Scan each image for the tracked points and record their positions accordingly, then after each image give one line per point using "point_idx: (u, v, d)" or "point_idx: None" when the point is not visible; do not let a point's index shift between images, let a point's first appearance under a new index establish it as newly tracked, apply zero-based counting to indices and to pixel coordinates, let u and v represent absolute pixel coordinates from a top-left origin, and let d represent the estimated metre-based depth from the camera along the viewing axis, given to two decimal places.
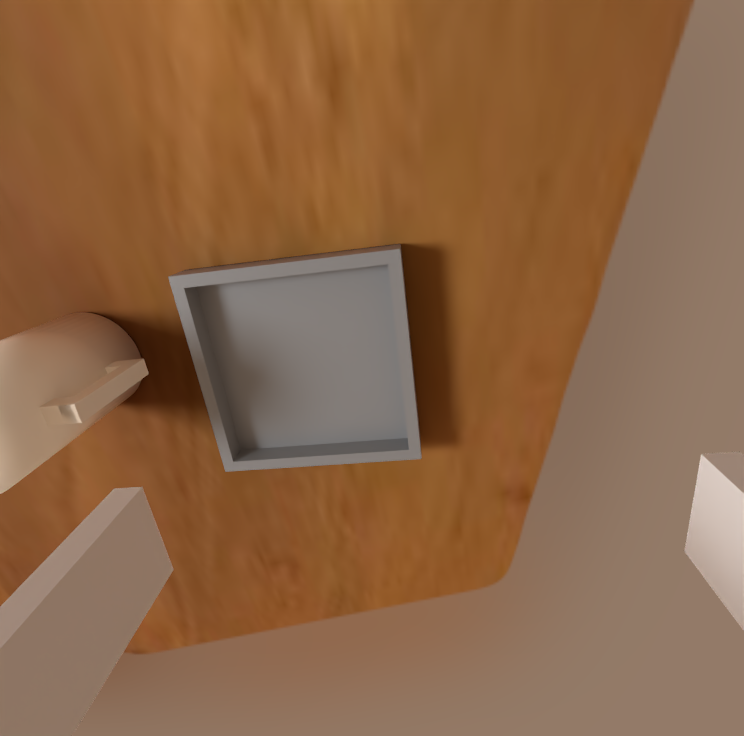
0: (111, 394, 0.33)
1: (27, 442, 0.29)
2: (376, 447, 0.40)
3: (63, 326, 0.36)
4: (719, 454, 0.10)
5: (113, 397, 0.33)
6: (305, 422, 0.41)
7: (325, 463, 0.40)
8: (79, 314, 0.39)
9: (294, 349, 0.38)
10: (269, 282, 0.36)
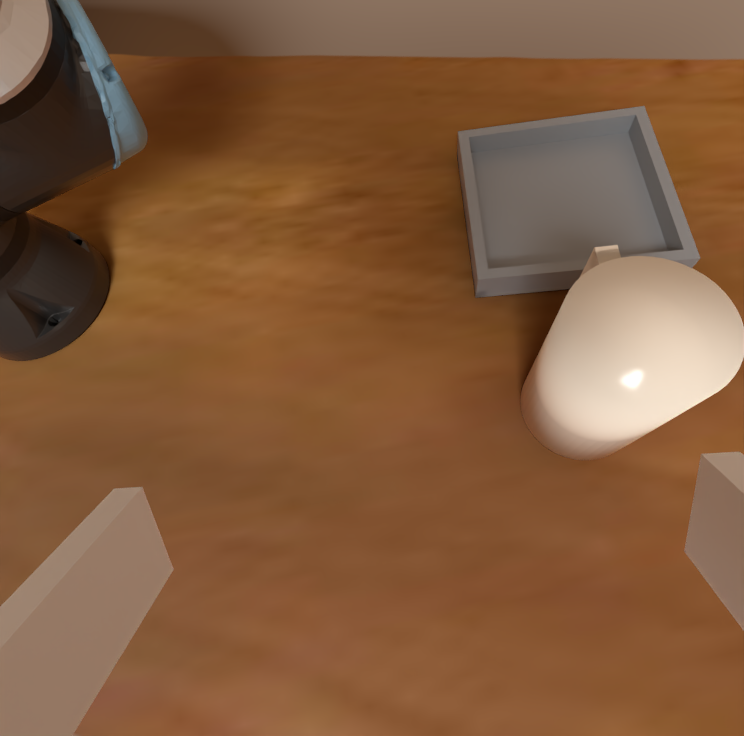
0: None
1: None
2: (640, 142, 0.43)
3: (529, 374, 0.34)
4: (719, 454, 0.10)
5: None
6: (625, 206, 0.42)
7: (666, 172, 0.41)
8: (521, 397, 0.37)
9: (546, 212, 0.43)
10: (485, 226, 0.44)
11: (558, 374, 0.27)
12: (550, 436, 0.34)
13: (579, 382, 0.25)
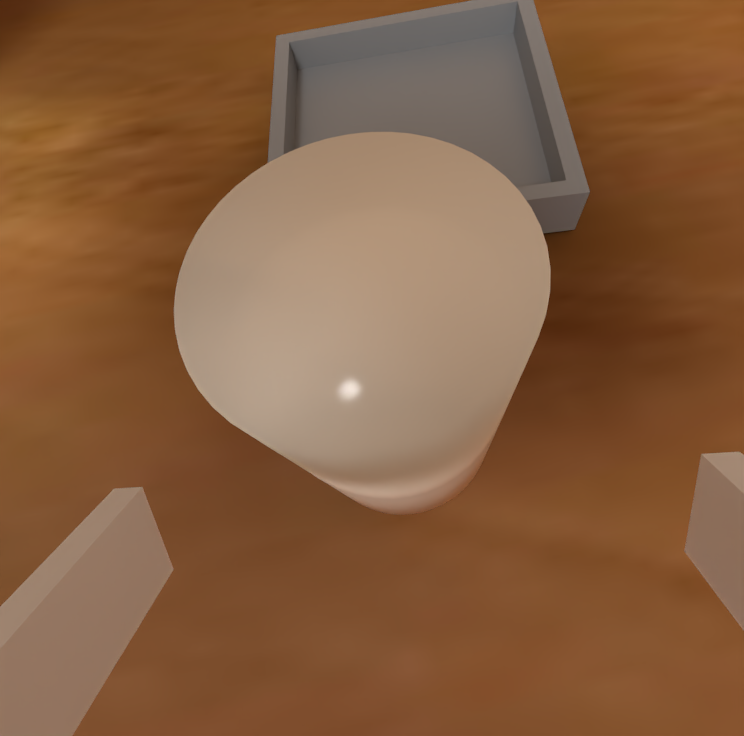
0: None
1: None
2: (522, 40, 0.30)
3: None
4: (719, 454, 0.10)
5: None
6: (498, 129, 0.29)
7: (551, 73, 0.27)
8: None
9: None
10: None
11: None
12: None
13: None
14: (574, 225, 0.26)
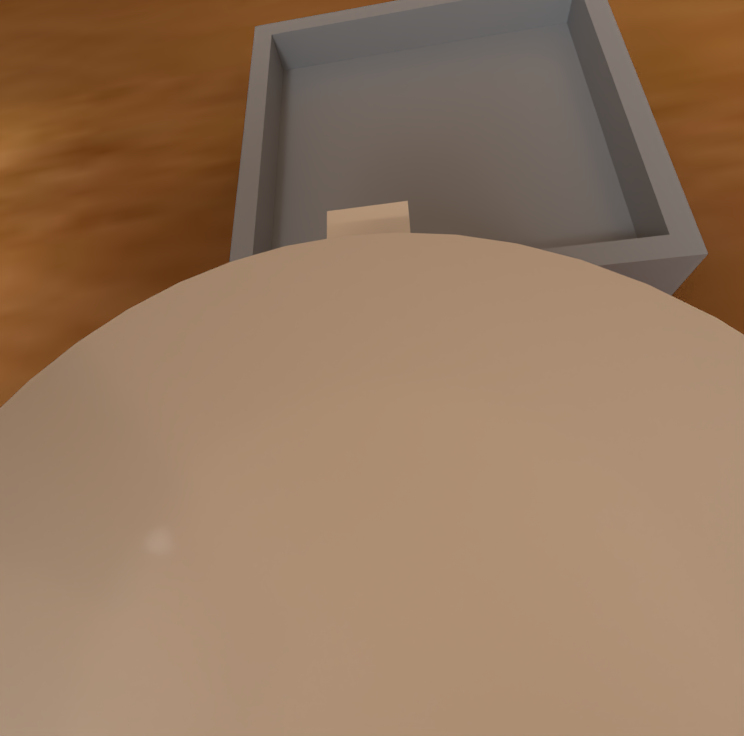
0: None
1: None
2: (585, 31, 0.22)
3: None
4: None
5: None
6: (554, 152, 0.21)
7: (633, 77, 0.20)
8: None
9: (403, 167, 0.22)
10: (287, 198, 0.22)
11: None
12: None
13: None
14: (670, 293, 0.18)
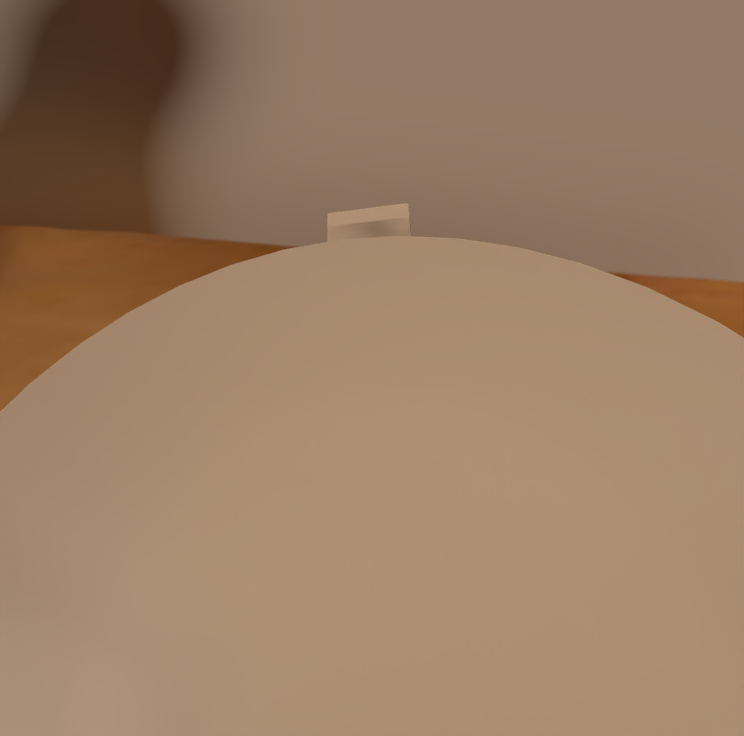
0: None
1: None
2: None
3: None
4: None
5: None
6: None
7: None
8: None
9: None
10: None
11: None
12: None
13: None
14: None
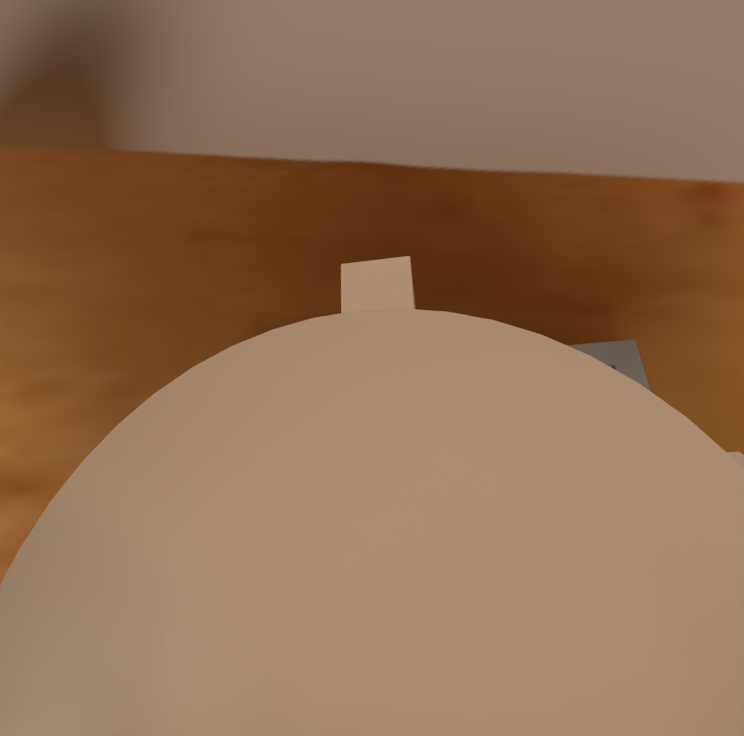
0: None
1: None
2: None
3: None
4: None
5: None
6: None
7: None
8: None
9: None
10: None
11: None
12: None
13: None
14: None
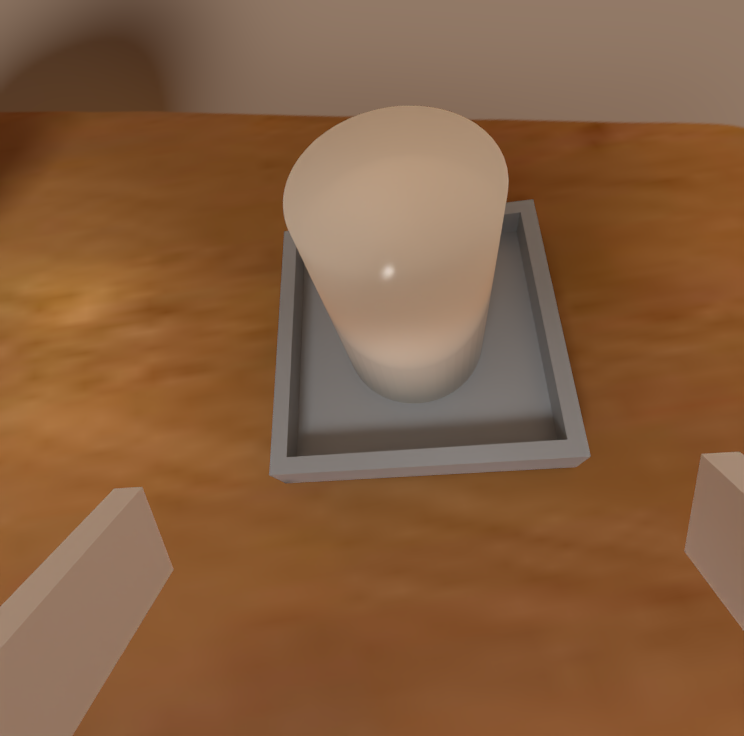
0: None
1: None
2: (525, 253, 0.31)
3: None
4: (719, 454, 0.10)
5: None
6: (501, 347, 0.29)
7: (553, 305, 0.28)
8: None
9: None
10: (309, 373, 0.31)
11: None
12: (361, 370, 0.27)
13: (308, 266, 0.19)
14: (575, 465, 0.27)
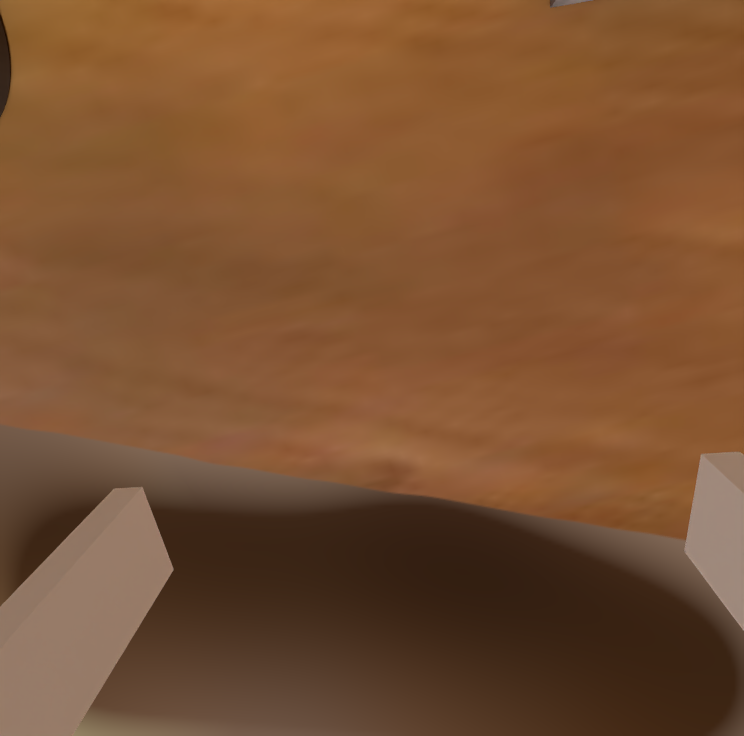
0: None
1: None
2: None
3: None
4: (719, 454, 0.10)
5: None
6: None
7: None
8: None
9: None
10: None
11: None
12: None
13: None
14: None
